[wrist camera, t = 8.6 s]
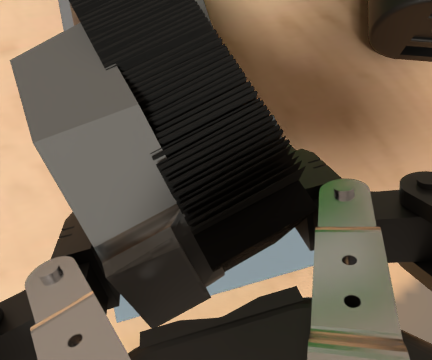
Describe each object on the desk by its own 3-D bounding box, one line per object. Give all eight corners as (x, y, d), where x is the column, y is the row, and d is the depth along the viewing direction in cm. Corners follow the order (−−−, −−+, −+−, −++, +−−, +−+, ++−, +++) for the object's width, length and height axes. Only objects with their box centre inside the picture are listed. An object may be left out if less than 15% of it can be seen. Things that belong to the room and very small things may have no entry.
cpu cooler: (90, 136, 19) (-46, -20, 9) (184, 90, 20) (147, -98, 10) (177, 315, 16) (111, 357, 7) (281, 254, 17) (360, 212, 7)
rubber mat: (272, 120, 27) (273, 115, 26) (322, 262, 24) (326, 261, 23) (91, 167, 26) (88, 164, 25) (120, 321, 23) (116, 322, 22)
